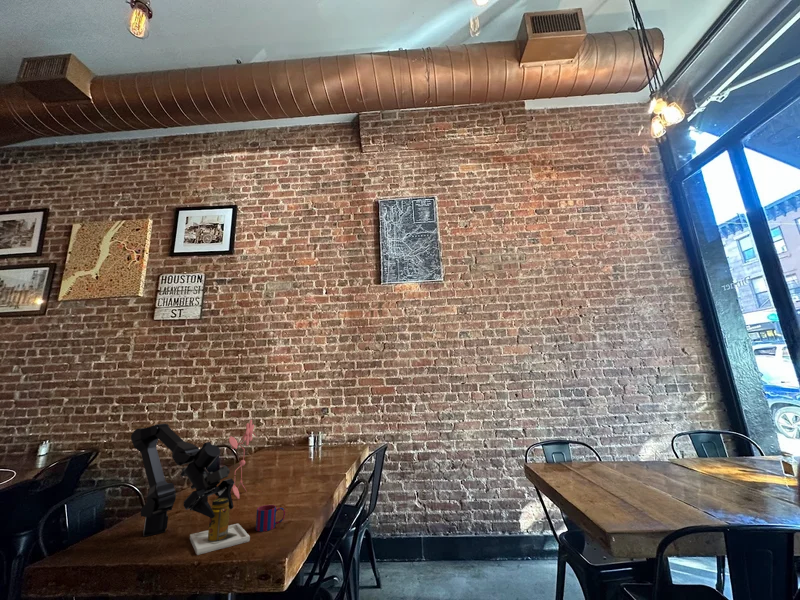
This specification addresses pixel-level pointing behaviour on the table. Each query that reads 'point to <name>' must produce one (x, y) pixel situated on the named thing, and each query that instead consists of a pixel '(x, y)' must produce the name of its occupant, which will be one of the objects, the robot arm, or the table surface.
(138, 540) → the table surface
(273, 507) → the mug
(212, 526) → the condiment
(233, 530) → the tray
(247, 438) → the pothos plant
